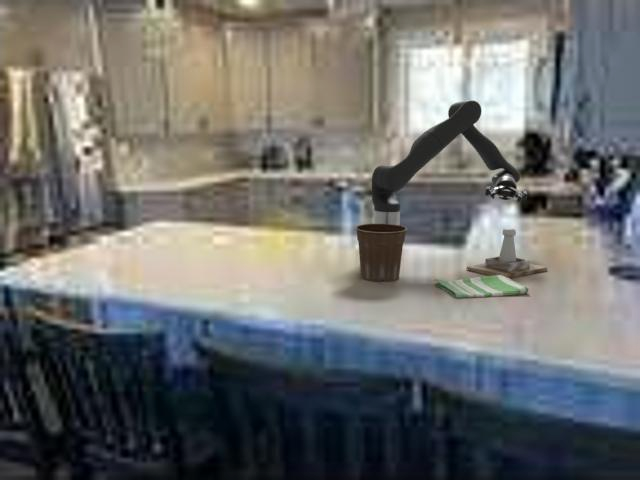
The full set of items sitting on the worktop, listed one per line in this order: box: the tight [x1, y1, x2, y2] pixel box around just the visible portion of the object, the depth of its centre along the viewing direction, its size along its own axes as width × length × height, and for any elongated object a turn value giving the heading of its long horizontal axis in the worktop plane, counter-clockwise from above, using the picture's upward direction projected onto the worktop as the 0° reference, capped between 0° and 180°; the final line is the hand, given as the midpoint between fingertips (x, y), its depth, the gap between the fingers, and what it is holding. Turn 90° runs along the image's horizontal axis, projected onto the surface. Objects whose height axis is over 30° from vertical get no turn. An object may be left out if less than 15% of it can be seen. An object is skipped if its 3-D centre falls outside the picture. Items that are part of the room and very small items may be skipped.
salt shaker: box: [498, 227, 517, 263], centre depth 235 cm, size 6×6×13 cm
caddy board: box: [466, 256, 548, 279], centre depth 236 cm, size 22×16×4 cm
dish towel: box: [433, 275, 531, 299], centre depth 210 cm, size 18×23×3 cm
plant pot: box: [354, 223, 408, 283], centre depth 221 cm, size 16×16×16 cm
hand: (506, 197), depth 244 cm, fingers open, 8 cm apart
